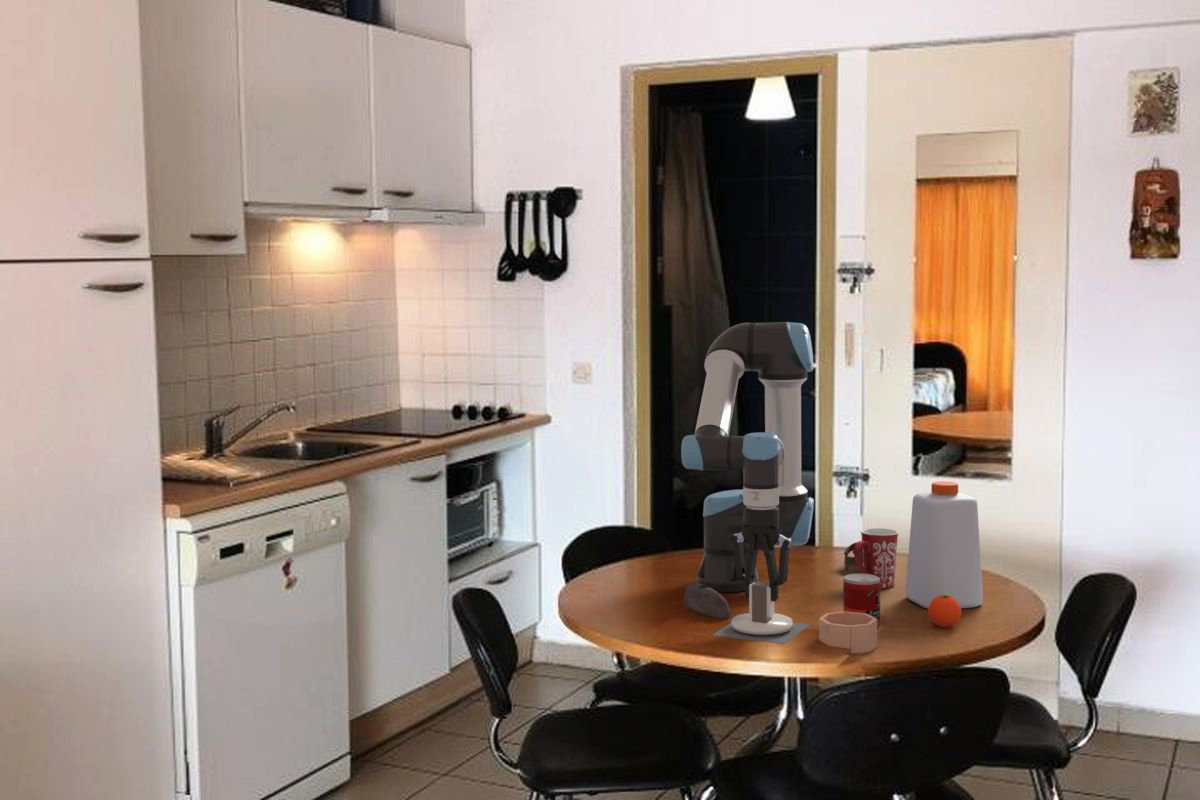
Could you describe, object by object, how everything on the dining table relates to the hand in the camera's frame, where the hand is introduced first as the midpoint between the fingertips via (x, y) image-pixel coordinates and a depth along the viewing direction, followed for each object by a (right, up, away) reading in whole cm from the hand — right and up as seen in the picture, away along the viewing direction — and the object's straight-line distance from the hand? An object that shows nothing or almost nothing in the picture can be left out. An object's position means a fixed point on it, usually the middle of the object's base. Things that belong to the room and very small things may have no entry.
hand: (761, 614), depth 293 cm
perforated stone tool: (-10, -4, +16) cm, 19 cm away
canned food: (+22, -4, +6) cm, 24 cm away
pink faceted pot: (+17, -6, -9) cm, 20 cm away
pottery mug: (+33, +2, +61) cm, 69 cm away
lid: (0, -3, 0) cm, 3 cm away
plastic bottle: (+45, -1, +26) cm, 52 cm away
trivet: (0, -5, 0) cm, 5 cm away
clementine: (+40, -4, +6) cm, 41 cm away
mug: (+32, 0, +42) cm, 53 cm away
